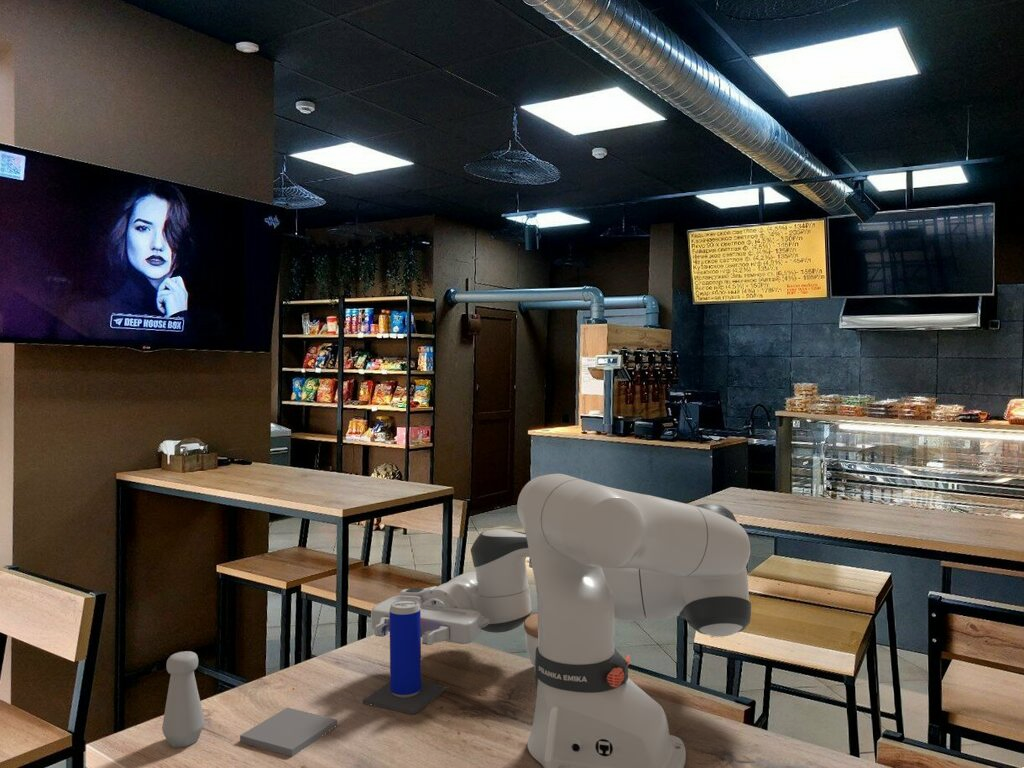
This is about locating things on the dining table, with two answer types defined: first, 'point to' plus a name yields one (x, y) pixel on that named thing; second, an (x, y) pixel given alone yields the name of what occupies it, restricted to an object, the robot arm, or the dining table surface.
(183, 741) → the salt shaker
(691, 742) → the dining table surface
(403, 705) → the rubber mat
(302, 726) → the ceramic tile
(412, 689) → the beverage can
